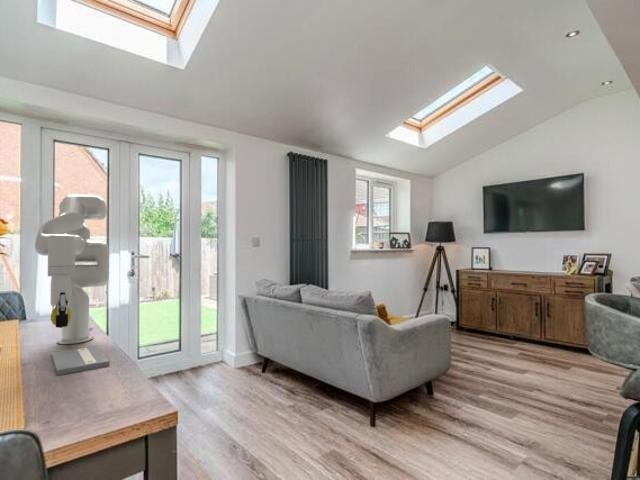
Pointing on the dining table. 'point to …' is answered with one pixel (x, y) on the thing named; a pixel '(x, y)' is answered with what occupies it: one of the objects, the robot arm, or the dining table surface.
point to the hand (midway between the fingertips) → (61, 324)
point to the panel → (77, 360)
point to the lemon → (54, 313)
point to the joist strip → (86, 356)
